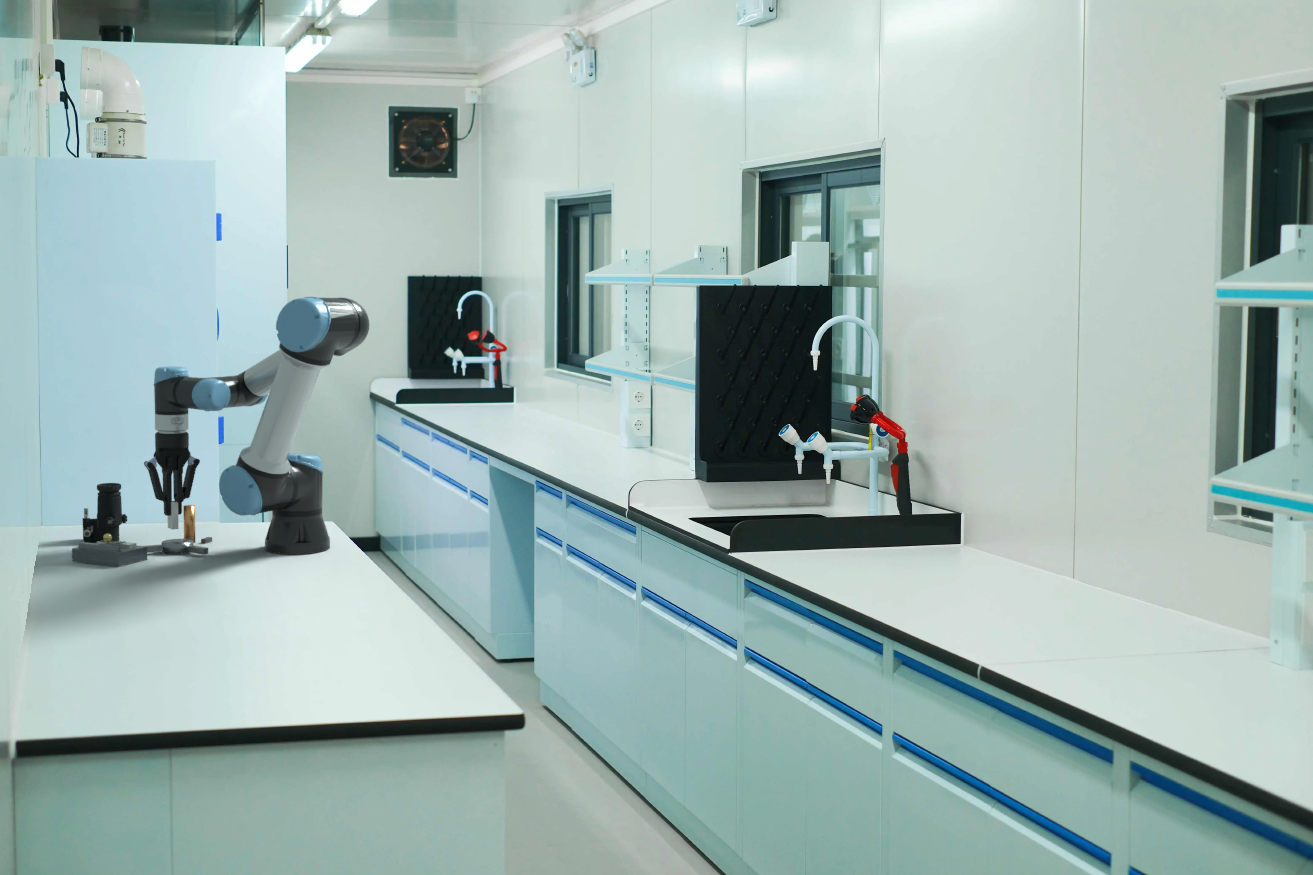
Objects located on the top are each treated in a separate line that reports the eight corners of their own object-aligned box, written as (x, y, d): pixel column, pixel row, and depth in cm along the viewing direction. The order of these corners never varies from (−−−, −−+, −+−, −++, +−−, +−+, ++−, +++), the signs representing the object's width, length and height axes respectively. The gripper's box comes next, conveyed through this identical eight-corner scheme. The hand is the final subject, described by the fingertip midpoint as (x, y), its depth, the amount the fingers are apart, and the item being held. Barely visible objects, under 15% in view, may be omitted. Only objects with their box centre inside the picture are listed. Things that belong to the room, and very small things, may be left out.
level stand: (147, 559, 292) (146, 535, 291) (118, 567, 283) (118, 542, 283) (101, 554, 296) (101, 530, 296) (72, 561, 288) (71, 537, 287)
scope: (81, 483, 311) (125, 481, 316) (82, 538, 313) (126, 536, 317) (81, 488, 304) (127, 486, 308) (83, 545, 306) (128, 542, 310)
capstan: (206, 555, 296) (206, 516, 295) (133, 554, 295) (132, 515, 294) (226, 542, 311) (225, 505, 310) (156, 541, 310) (156, 504, 309)
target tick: (205, 543, 311) (205, 539, 311) (201, 543, 312) (201, 539, 311) (212, 541, 314) (212, 537, 314) (207, 540, 314) (207, 536, 314)
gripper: (150, 434, 298) (152, 533, 301) (205, 431, 307) (206, 527, 310) (138, 431, 304) (139, 528, 307) (192, 428, 313) (193, 522, 315)
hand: (173, 528), depth 308 cm, fingers closed
